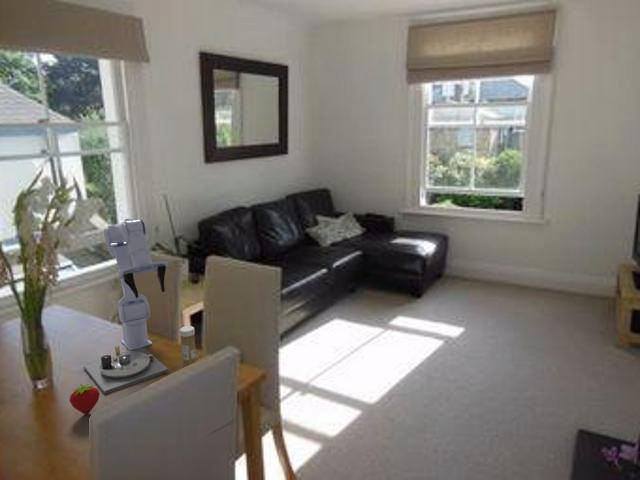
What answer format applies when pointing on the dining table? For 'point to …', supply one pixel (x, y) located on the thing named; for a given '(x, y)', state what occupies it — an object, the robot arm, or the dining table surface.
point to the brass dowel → (117, 349)
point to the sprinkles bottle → (188, 345)
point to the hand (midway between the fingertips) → (150, 293)
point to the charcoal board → (115, 384)
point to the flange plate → (127, 368)
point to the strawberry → (84, 398)
